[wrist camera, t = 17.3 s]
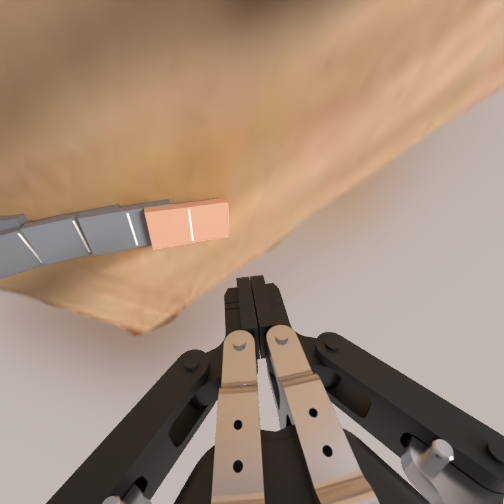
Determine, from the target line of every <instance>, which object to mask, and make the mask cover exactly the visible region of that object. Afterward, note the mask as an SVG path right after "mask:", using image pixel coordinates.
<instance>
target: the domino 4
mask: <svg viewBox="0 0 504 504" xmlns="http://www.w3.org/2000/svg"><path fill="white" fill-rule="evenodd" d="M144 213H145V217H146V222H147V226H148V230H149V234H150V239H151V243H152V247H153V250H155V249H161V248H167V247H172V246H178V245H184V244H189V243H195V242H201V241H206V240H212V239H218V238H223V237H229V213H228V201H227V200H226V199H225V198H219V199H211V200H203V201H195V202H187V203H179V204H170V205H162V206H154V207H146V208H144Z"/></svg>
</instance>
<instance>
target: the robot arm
mask: <svg viewBox="0 0 504 504" xmlns="http://www.w3.org/2000/svg"><path fill="white" fill-rule="evenodd" d="M224 297H225V298H224V299H225V322H226V323H225V325H226V336H225V339H224V341H223V342H222V344H221V345H220V346H218V347H217V348H215V349H213V350H211V351H209V352H207V353H204V352H203V351H201V350H190V351H187V352H185V353H184V354H182V355H181V356H180V357H179V358H178V359H177V361H176V362H175V363H174V364H173V365H172V366H171V367H170V368H169V369H168V370H167V371H166V372H165V374H164V375H163V376H162V377H161V378H160V379H159V380H158V381H157V382H156V384H155V385H154V386H153V387H152V388H151V389H150V390H149V391H148V392H147V393H146V395H145V396H144V397H143V398H142V399H141V400H140V401H139V402H138V403H137V404H136V406H135V407H134V408H133V409H132V410H131V411H130V412H129V413H128V414H127V415H126V417H124V419H123V420H122V421H121V422H120V423H119V424H118V425H117V426H116V427H115V428H114V430H113V431H112V432H111V433H110V434H109V435H108V436H107V437H106V438H105V439H104V440H103V442H102V443H101V444H100V445H99V446H98V447H97V448H96V449H95V450H94V451H93V453H92V454H91V455H90V456H89V457H88V458H87V459H86V460H85V462H84V463H83V464H82V465H81V466H80V467H79V468H78V469H77V470H76V471H75V472H74V473H73V475H72V476H71V477H70V478H69V479H68V480H67V481H66V482H65V483H64V484H63V485H62V487H61V488H60V489H59V490H58V491H57V492H56V493H55V494H54V495H53V496H52V498H51V499H50V500H49V501H48V502H47V503H46V504H151V501H150V499H151V497H152V496H153V495H154V493H155V492H156V490H157V489H158V487H159V486H160V485H161V483H162V482H163V480H164V479H165V477H166V475H167V474H168V473H169V471H170V469H171V468H172V467H173V465H174V463H175V462H176V461H177V459H178V458H179V456H180V455H181V453H182V452H183V450H184V449H185V447H186V446H187V444H188V443H189V441H190V440H191V438H192V437H193V435H194V434H195V432H196V431H197V429H198V428H199V427H200V425H201V424H202V422H203V421H204V419H205V418H206V416H207V415H208V413H209V412H210V410H211V409H212V407H213V406H214V404H215V402H216V401H217V400H218V408H217V424H216V438H215V439H216V440H215V445H214V446H213V447H212V448H211V449H209V450H208V451H207V452H206V453H205V454H204V456H203V457H202V458H201V459H200V461H199V462H198V463H197V464H196V466H195V468H194V469H193V471H192V473H191V475H190V476H189V478H188V480H187V482H186V483H185V485H184V487H183V488H182V490H181V492H180V494H179V496H178V497H177V499H176V501H175V503H174V504H503V498H504V436H502V435H501V434H499V433H498V432H496V431H494V430H493V429H491V428H490V427H488V426H487V425H485V424H483V423H482V422H480V421H478V420H477V419H475V418H474V417H472V416H470V415H469V414H467V413H465V412H464V411H462V410H461V409H459V408H457V407H455V406H454V405H452V404H450V403H449V402H447V401H446V400H444V399H443V398H441V397H439V396H438V395H436V394H435V393H433V392H431V391H430V390H428V389H426V388H425V387H423V386H422V385H420V384H418V383H417V382H415V381H413V380H412V379H410V378H408V377H407V376H405V375H404V374H402V373H400V372H399V371H397V370H396V369H394V368H392V367H391V366H389V365H387V364H386V363H384V362H382V361H381V360H379V359H378V358H376V357H374V356H372V355H371V354H370V353H368V352H366V351H365V350H363V349H361V348H360V347H358V346H356V345H355V344H353V343H351V342H350V341H348V340H347V339H345V338H343V337H342V336H340V335H338V334H336V333H332V332H325V333H322V334H320V335H319V336H318V338H312V337H305V336H302V335H300V334H298V333H297V332H295V331H294V330H293V329H292V327H291V325H290V323H289V320H288V316H287V313H286V310H285V307H284V304H283V300H282V297H281V294H280V291H279V288H277V286H276V285H274V283H270V284H265V281H264V277H263V275H259V276H251V277H250V280H249V277H242V278H237V288H228V289H227V291H226V293H225V295H224ZM259 349H260V354H259ZM260 355H261V359H262V358H266V362H267V372H268V377H269V381H270V384H271V389H272V393H273V396H274V400H275V404H276V408H277V412H278V416H279V423H280V429H281V430H279V431H277V432H273V431H265V430H260V418H259V402H258V386H257V373H258V365H257V359H260ZM330 401H331V402H332V403H333V404H335V405H336V406H337V407H338V408H340V409H341V410H342V411H343V412H345V413H346V414H347V415H348V416H350V417H351V418H352V419H353V420H354V421H356V422H357V423H358V424H359V425H361V426H362V427H363V428H364V429H366V430H367V431H368V432H369V433H370V434H372V435H373V436H374V437H375V438H377V439H378V440H379V441H380V442H382V443H383V444H384V445H385V446H387V447H388V448H389V449H390V450H391V451H393V452H394V453H395V454H396V455H397V456H399V457H400V458H401V464H402V468H403V470H404V472H405V474H406V476H407V478H408V479H409V481H410V482H411V483H412V484H413V485H414V486H415V487H416V488H417V489H418V490H419V491H420V493H421V494H422V495H423V496H422V495H421V494H420V493H419V492H418V491H417V490H416V489H414V488H413V487H412V486H411V485H410V484H409V483H408V482H407V481H406V480H404V479H403V478H402V477H401V476H400V475H399V474H398V473H396V471H394V470H393V469H392V468H391V467H390V466H389V465H388V464H387V463H385V462H384V461H383V460H382V459H381V458H380V457H379V456H377V454H375V453H374V452H373V451H372V450H371V449H370V448H369V447H368V446H366V445H365V444H364V443H363V442H362V441H361V440H360V439H359V438H357V437H356V436H355V435H353V434H352V433H351V432H349V431H347V430H345V429H343V428H342V427H341V424H340V422H339V420H338V418H337V415H336V413H335V411H334V409H333V406H332V404H331V402H330Z"/></svg>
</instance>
